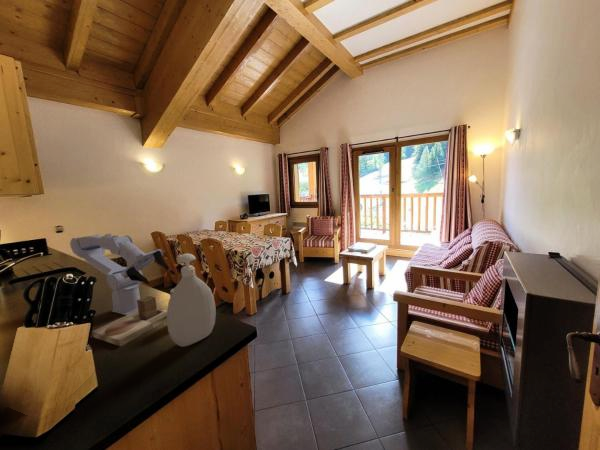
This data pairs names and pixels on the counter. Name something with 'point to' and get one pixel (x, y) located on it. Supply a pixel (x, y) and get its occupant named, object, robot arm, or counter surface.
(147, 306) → the walnut block
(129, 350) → the counter surface
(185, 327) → the soap bottle
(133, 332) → the holder board
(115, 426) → the counter surface
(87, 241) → the robot arm
